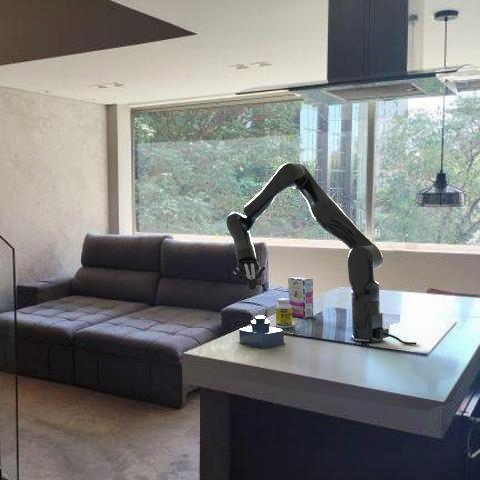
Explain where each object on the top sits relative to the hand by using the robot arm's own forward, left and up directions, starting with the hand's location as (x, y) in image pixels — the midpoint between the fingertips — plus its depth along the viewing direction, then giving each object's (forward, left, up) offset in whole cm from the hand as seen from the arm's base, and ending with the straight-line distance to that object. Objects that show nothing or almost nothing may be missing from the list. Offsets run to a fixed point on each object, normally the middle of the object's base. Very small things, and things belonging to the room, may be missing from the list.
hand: (252, 288), depth 222 cm
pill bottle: (+2, -17, -18) cm, 25 cm away
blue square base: (-12, +8, -17) cm, 22 cm away
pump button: (-9, +5, -11) cm, 15 cm away
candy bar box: (+12, -37, -18) cm, 43 cm away
